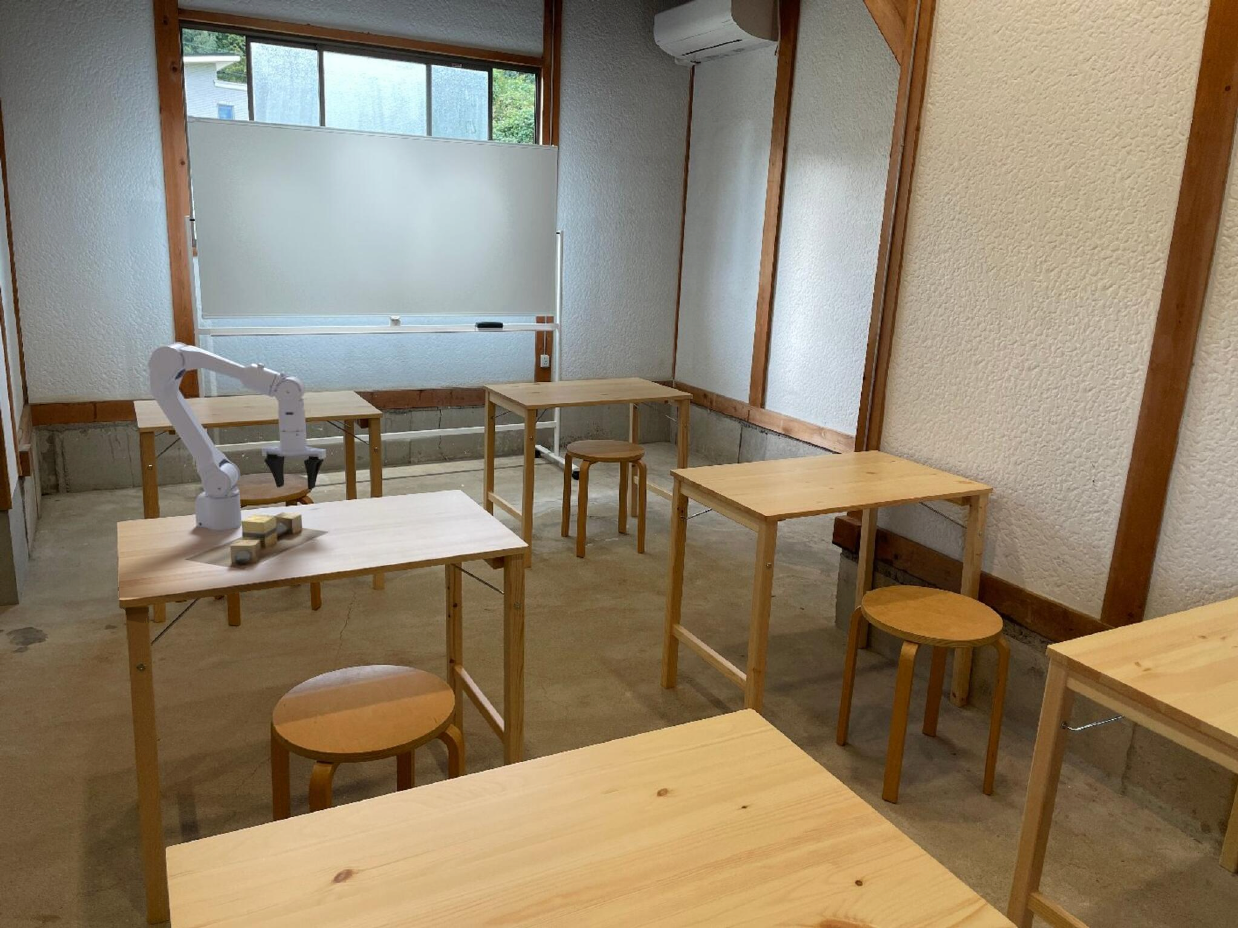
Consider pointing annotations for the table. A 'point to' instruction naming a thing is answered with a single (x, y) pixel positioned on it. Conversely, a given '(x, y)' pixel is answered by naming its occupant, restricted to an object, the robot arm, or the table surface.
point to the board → (284, 543)
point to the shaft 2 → (288, 523)
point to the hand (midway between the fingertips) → (296, 487)
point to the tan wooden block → (260, 529)
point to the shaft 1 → (245, 551)
